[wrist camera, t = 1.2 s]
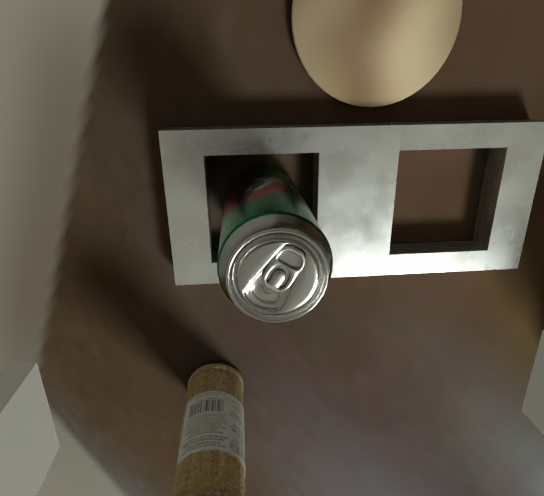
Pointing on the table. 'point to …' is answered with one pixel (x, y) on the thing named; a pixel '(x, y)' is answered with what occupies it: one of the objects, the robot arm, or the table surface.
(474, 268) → the white flat rectangular frame
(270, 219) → the soda can
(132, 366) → the table surface
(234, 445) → the sprinkles bottle
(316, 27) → the coaster
